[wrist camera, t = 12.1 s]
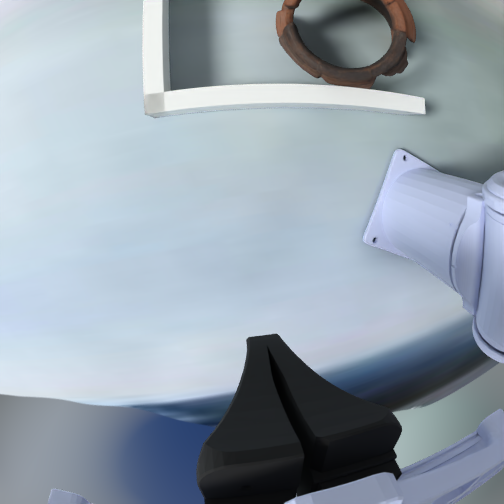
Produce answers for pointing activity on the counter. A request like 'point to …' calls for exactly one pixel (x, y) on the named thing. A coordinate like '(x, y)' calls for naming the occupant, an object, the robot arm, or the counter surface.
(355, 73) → the pottery mug
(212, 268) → the counter surface
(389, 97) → the u-shaped white bracket
